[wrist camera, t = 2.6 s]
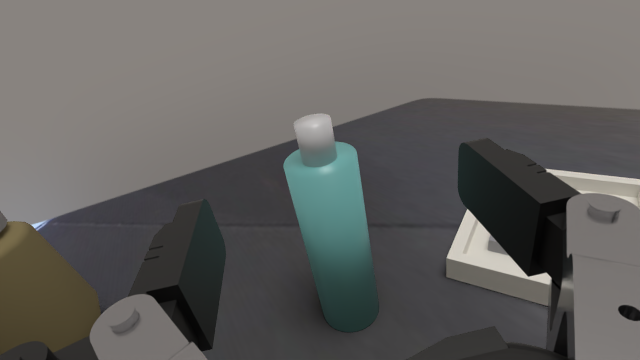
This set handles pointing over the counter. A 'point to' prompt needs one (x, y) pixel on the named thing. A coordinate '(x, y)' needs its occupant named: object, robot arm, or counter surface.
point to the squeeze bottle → (40, 292)
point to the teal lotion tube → (333, 223)
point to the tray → (497, 266)
